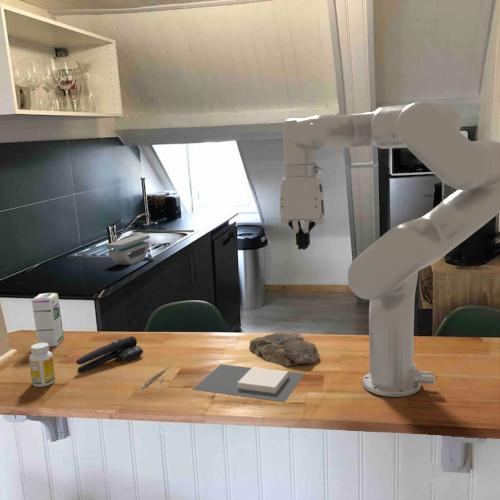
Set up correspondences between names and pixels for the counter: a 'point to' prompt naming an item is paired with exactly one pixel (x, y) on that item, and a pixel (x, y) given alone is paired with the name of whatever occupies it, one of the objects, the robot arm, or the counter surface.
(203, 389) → the mat
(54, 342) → the syrup box
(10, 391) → the counter surface
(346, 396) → the counter surface
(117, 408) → the counter surface
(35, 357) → the supplement bottle
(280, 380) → the tile
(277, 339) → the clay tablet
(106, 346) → the can opener
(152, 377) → the old metal nails
